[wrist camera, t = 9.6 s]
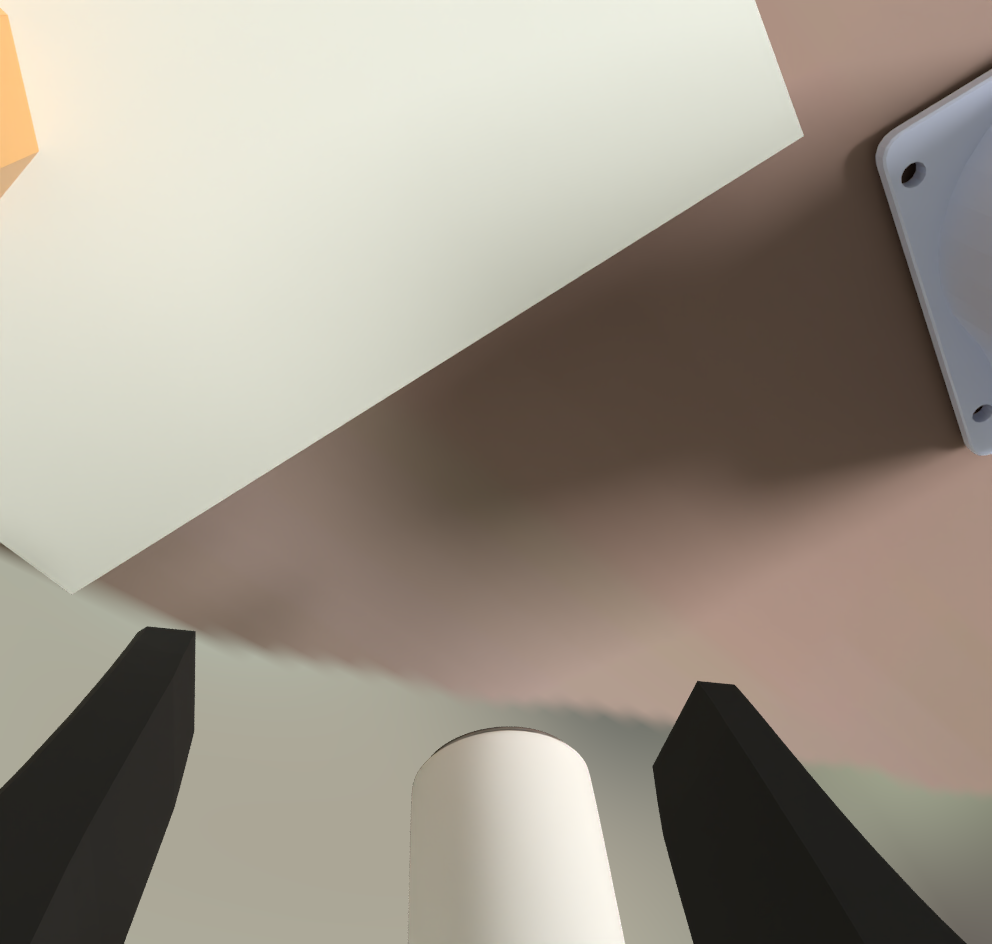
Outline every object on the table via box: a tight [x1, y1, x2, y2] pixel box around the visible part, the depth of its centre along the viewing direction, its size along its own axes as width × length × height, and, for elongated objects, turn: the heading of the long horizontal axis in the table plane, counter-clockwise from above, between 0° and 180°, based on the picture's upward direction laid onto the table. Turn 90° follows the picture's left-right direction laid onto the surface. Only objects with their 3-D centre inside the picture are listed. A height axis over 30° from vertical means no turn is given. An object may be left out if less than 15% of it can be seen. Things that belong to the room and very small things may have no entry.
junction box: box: [0, 0, 804, 595], centre depth 12 cm, size 14×18×6 cm
